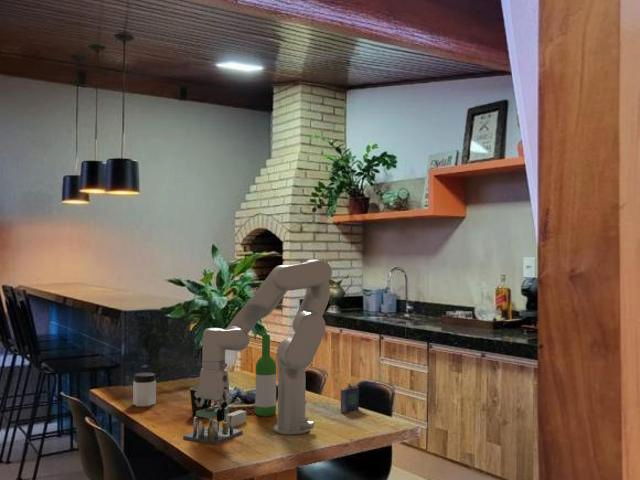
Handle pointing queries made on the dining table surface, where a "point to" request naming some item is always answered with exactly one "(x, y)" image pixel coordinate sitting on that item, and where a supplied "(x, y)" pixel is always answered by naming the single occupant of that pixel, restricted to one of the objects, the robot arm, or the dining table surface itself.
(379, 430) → the dining table surface
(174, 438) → the dining table surface
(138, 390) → the jar
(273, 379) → the wine bottle
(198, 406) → the coffee mug
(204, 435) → the vial rack
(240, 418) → the stand
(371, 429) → the dining table surface
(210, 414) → the board
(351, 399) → the flask
